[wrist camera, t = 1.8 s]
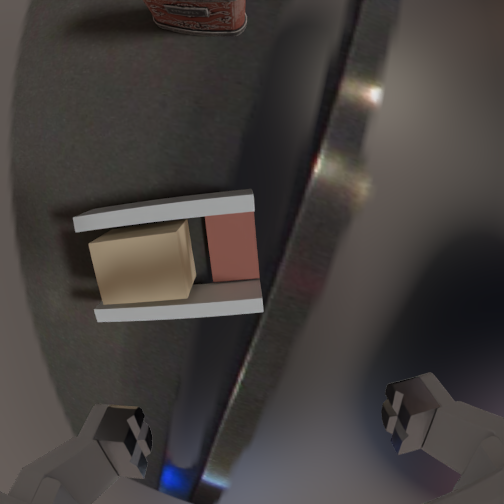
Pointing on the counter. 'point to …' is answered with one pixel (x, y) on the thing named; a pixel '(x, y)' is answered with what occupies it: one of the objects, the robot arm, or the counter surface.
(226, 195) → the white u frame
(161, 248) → the maple block
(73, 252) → the counter surface
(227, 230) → the trap pad
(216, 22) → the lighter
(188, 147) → the counter surface
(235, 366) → the counter surface
